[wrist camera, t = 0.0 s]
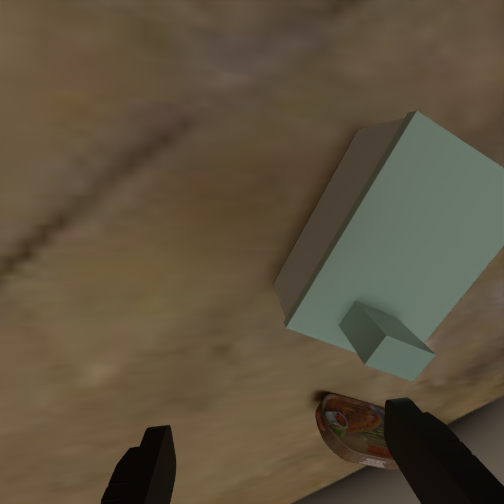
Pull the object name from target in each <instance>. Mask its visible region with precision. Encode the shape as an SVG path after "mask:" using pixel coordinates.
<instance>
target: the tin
mask: <svg viewBox="0 0 504 504" xmlns="http://www.w3.org/2000/svg"><path fill="white" fill-rule="evenodd" d="M384 416H385V411H384V410H383V409H381V408H380V407H378V406H376V405H374V404H371V403H367V402H363V401H360V400H356V399H352V398H349V397H345V396H342V395H338V394H328V395H326V396H325V397H324V398H323V400H322V402H321V403H320V404H319V406H318V407H317V410H316V422H317V426H318V429H319V431H320V434H321V436H322V438H323V440H324V441H325V443H326V444H327V445H328V447H329V448H330V449H331V450H332V451H333V452H334V453H335V454H336V455H338V456H339V457H341V458H342V459H344V460H346V461H349V462H353V463H358V464H363V465H368V466H374V467H379V468H383V469H388V470H397V469H399V467H398V465H397V464H396V462H395V460H394V459H393V457H392V455H391V454H390V452H389V450H388V448H387V445H386V442H385V438H384Z"/></svg>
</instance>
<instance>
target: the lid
mask: <svg viewBox="0 0 504 504" xmlns="http://www.w3.org/2000/svg"><path fill="white" fill-rule="evenodd" d="M503 246H504V168H503V167H501V166H500V165H498V164H497V163H495V162H494V161H492V160H491V159H489V158H487V157H486V156H484V155H483V154H481V153H480V152H478V151H477V150H475V149H474V148H472V147H471V146H469V145H468V144H466V143H465V142H463V141H462V140H460V139H459V138H457V137H456V136H454V135H453V134H451V133H450V132H448V131H447V130H445V129H444V128H442V127H441V126H439V125H438V124H436V123H435V122H433V121H432V120H430V119H429V118H427V117H426V116H424V115H423V114H421V113H420V112H418V111H414V112H410V113H408V114H407V115H406V117H405V119H404V120H403V122H402V124H401V125H400V127H399V129H398V130H397V132H396V134H395V135H394V137H393V139H392V140H391V142H390V144H389V146H388V147H387V149H386V151H385V152H384V154H383V156H382V157H381V159H380V161H379V162H378V164H377V166H376V167H375V169H374V171H373V172H372V174H371V176H370V178H369V179H368V181H367V183H366V184H365V186H364V188H363V189H362V191H361V193H360V194H359V196H358V198H357V199H356V201H355V203H354V204H353V206H352V208H351V209H350V211H349V213H348V215H347V216H346V218H345V220H344V221H343V223H342V225H341V226H340V228H339V230H338V231H337V233H336V235H335V236H334V238H333V240H332V241H331V243H330V245H329V247H328V248H327V250H326V252H325V253H324V255H323V257H322V258H321V260H320V262H319V263H318V265H317V267H316V268H315V270H314V272H313V273H312V275H311V277H310V278H309V280H308V282H307V284H306V285H305V287H304V289H303V290H302V292H301V294H300V295H299V297H298V299H297V300H296V302H295V304H294V305H293V307H292V309H291V310H290V312H289V314H288V316H287V317H286V319H285V321H284V323H285V326H286V328H288V329H291V330H293V331H296V332H299V333H302V334H305V335H307V336H310V337H313V338H316V339H318V340H321V341H324V342H327V343H329V344H332V345H335V346H338V347H341V348H343V349H346V350H349V351H352V352H354V353H357V354H358V356H359V357H360V359H361V360H362V362H363V363H364V365H367V366H369V367H372V368H375V369H378V370H381V371H384V372H387V373H389V374H392V375H395V376H398V377H401V378H404V379H406V380H409V381H412V382H413V381H414V380H415V379H416V378H417V377H418V375H419V374H420V373H421V372H422V371H423V369H424V368H425V367H426V366H427V365H428V364H429V362H430V361H431V360H432V359H433V358H434V356H435V355H436V354H435V353H434V352H433V351H431V350H430V349H429V348H428V347H427V346H426V345H425V344H424V342H425V341H426V340H427V339H428V337H429V336H430V335H431V334H432V333H433V331H434V330H435V329H436V328H437V326H438V325H439V324H440V323H441V322H442V320H443V319H444V318H445V317H446V315H447V314H448V313H449V312H450V311H451V309H452V308H453V307H454V306H455V304H456V303H457V302H458V301H459V300H460V298H461V297H462V296H463V295H464V293H465V292H466V291H467V290H468V289H469V287H470V286H471V285H472V284H473V282H474V281H475V280H476V279H477V277H478V276H479V275H480V274H481V273H482V271H483V270H484V269H485V268H486V266H487V265H488V264H489V263H490V262H491V260H492V259H493V258H494V257H495V255H496V254H497V253H498V252H499V251H500V249H501V248H502V247H503Z"/></svg>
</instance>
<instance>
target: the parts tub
mask: <svg viewBox="0 0 504 504" xmlns="http://www.w3.org/2000/svg"><path fill="white" fill-rule="evenodd" d="M404 119H405V118H402V119H398V120H394V121H390V122H385V123H381V124H377V125H373V126H369V127H365V128H360V129H358V131H357V133H356V134H355V136H354V138H353V140H352V142H351V144H350V145H349V147H348V149H347V151H346V153H345V154H344V156H343V158H342V160H341V162H340V164H339V165H338V167H337V169H336V171H335V173H334V174H333V176H332V178H331V180H330V182H329V184H328V185H327V187H326V189H325V191H324V193H323V194H322V196H321V198H320V200H319V202H318V204H317V205H316V207H315V209H314V211H313V213H312V214H311V216H310V218H309V220H308V222H307V224H306V225H305V227H304V229H303V231H302V233H301V234H300V236H299V238H298V240H297V242H296V244H295V245H294V247H293V249H292V251H291V253H290V254H289V256H288V258H287V260H286V262H285V264H284V265H283V267H282V269H281V271H280V273H279V274H278V276H277V278H276V280H275V282H274V286H275V289H276V292H277V295H278V297H279V300H280V303H281V306H282V309H283V312H284V315H285V317H287V316H288V314H289V312H290V310H291V309H292V307H293V305H294V304H295V302H296V300H297V299H298V297H299V295H300V294H301V292H302V290H303V289H304V287H305V285H306V284H307V282H308V280H309V278H310V277H311V275H312V273H313V272H314V270H315V268H316V267H317V265H318V263H319V262H320V260H321V258H322V257H323V255H324V253H325V252H326V250H327V248H328V247H329V245H330V243H331V241H332V240H333V238H334V236H335V235H336V233H337V231H338V230H339V228H340V226H341V225H342V223H343V221H344V220H345V218H346V216H347V215H348V213H349V211H350V209H351V208H352V206H353V204H354V203H355V201H356V199H357V198H358V196H359V194H360V193H361V191H362V189H363V188H364V186H365V184H366V183H367V181H368V179H369V178H370V176H371V174H372V172H373V171H374V169H375V167H376V166H377V164H378V162H379V161H380V159H381V157H382V156H383V154H384V152H385V151H386V149H387V147H388V146H389V144H390V142H391V140H392V139H393V137H394V135H395V134H396V132H397V130H398V129H399V127H400V125H401V124H402V122H403V120H404Z"/></svg>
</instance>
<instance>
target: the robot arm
mask: <svg viewBox="0 0 504 504" xmlns="http://www.w3.org/2000/svg"><path fill="white" fill-rule="evenodd" d="M384 438H385V442H386V445H387V448H388V450H389V452H390V454H391V455H392V457H393V459H394V460H395V462H396V464H397V465H398V467H399V468H400V470H401V472H402V473H403V475H404V476H405V478H406V480H407V481H408V483H409V485H410V486H411V488H412V490H413V491H414V493H415V494H416V496H417V498H418V499H419V501H420V502H421V504H504V486H503V485H502V484H501V483H500V482H499V481H498V480H497V479H496V478H495V477H494V475H493V474H492V473H491V472H490V471H489V470H488V469H487V468H486V467H485V466H484V465H483V464H482V463H481V462H480V461H479V459H478V458H477V457H476V456H475V455H472V453H471V451H470V450H469V449H468V448H467V447H466V446H465V445H464V444H463V443H462V442H460V441H459V438H458V437H457V436H456V435H455V434H454V433H453V432H452V431H451V430H450V429H449V428H448V426H447V425H446V424H445V423H443V422H442V421H440V420H439V419H437V418H436V417H434V416H433V415H431V414H430V413H429V412H424V413H422V411H421V410H420V409H419V408H418V407H417V406H416V405H415V403H414V402H413V401H412V400H411V399H409V398H398V399H390V400H386V402H385V416H384ZM175 475H176V455H175V449H174V443H173V437H172V431H171V427H170V425H165V426H156V427H148V428H147V429H146V431H145V433H144V436H143V439H142V441H141V444H140V447H133V448H129V450H128V451H127V452H126V453H125V455H124V456H123V457H122V459H121V460H120V461H119V462H118V464H117V465H116V467H115V470H114V472H113V474H112V477H111V479H110V481H109V483H108V484H109V485H108V487H107V488H106V490H105V493H104V495H103V497H102V499H101V504H170V501H171V496H172V492H173V487H174V482H175Z"/></svg>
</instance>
